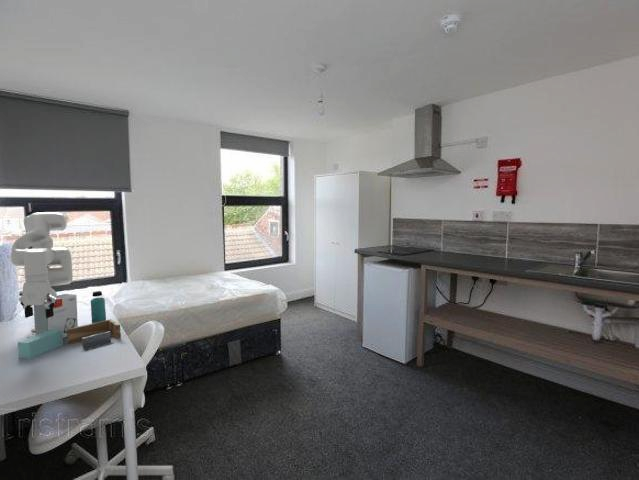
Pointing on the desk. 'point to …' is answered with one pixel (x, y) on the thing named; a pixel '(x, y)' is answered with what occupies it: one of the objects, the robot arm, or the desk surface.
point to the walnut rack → (93, 330)
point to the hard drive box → (57, 315)
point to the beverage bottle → (98, 308)
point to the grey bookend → (96, 341)
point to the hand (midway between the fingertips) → (39, 316)
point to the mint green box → (40, 343)
